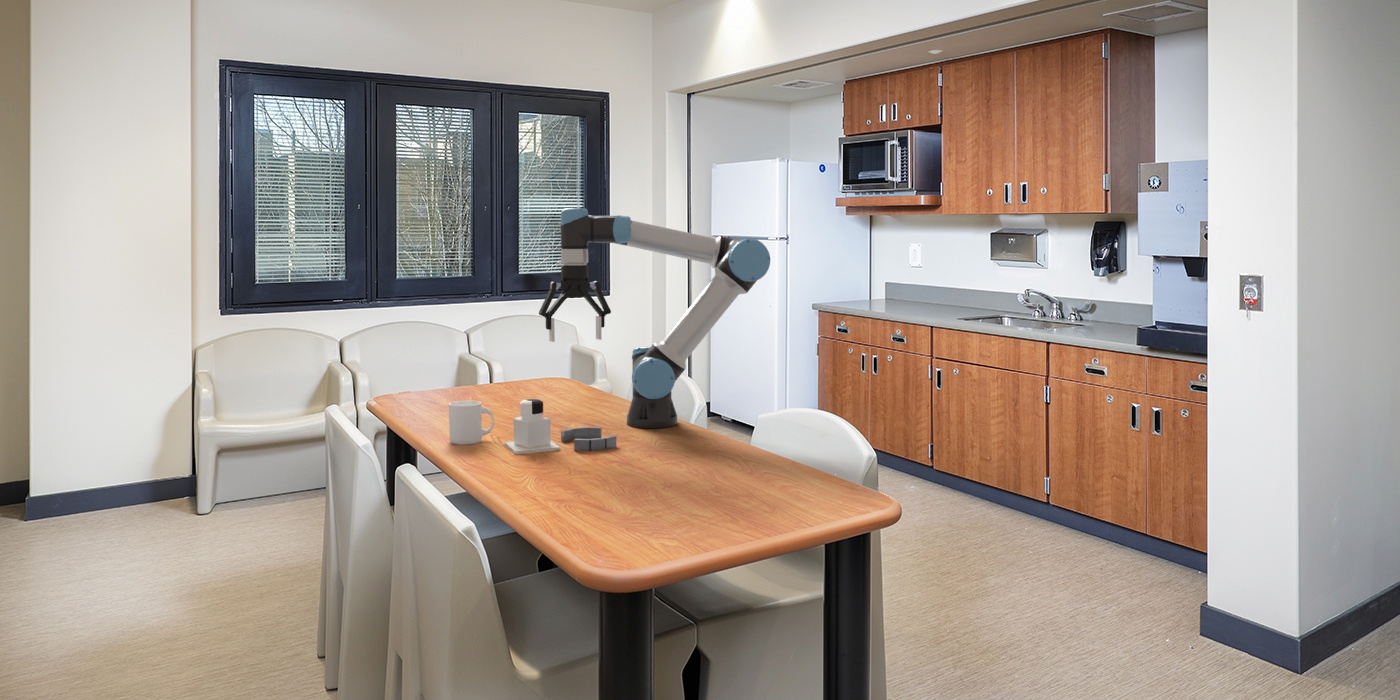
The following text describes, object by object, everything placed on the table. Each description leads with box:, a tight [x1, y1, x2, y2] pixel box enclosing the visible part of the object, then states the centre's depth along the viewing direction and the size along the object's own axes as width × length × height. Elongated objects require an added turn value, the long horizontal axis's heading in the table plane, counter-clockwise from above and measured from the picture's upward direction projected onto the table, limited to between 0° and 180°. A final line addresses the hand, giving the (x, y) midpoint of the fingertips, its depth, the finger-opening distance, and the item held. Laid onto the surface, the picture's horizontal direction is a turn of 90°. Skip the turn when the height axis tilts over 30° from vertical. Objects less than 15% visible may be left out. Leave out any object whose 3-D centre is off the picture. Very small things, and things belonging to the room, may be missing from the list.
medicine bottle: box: [513, 398, 552, 448], centre depth 255 cm, size 7×7×12 cm
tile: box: [503, 440, 561, 455], centre depth 256 cm, size 12×12×1 cm
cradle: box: [560, 426, 617, 452], centre depth 260 cm, size 12×16×3 cm
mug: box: [448, 399, 495, 446], centre depth 263 cm, size 9×12×11 cm
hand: (575, 340), depth 270 cm, fingers open, 13 cm apart
